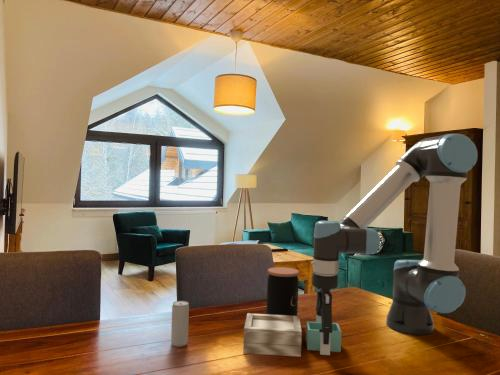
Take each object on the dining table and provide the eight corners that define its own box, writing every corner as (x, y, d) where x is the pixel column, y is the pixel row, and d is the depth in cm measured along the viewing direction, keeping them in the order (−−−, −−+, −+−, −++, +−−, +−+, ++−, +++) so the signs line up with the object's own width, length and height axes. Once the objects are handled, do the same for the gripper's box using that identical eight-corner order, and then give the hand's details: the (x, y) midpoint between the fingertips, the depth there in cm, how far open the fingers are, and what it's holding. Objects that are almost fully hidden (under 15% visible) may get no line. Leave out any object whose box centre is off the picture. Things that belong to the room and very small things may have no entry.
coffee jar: (295, 329, 134) (297, 275, 133) (263, 326, 136) (265, 272, 135) (298, 319, 144) (300, 268, 144) (268, 316, 146) (270, 266, 146)
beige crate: (298, 338, 126) (299, 316, 126) (300, 356, 113) (301, 331, 113) (246, 335, 127) (247, 313, 127) (243, 353, 114) (243, 328, 114)
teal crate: (336, 342, 124) (337, 323, 124) (340, 352, 117) (341, 331, 117) (305, 340, 125) (306, 321, 125) (307, 350, 118) (308, 329, 118)
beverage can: (173, 348, 116) (175, 306, 115) (168, 342, 120) (170, 301, 120) (190, 345, 118) (191, 304, 118) (184, 339, 122) (185, 299, 122)
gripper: (309, 264, 133) (306, 329, 133) (316, 282, 109) (313, 362, 109) (332, 265, 133) (329, 330, 133) (345, 284, 108) (341, 364, 109)
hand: (322, 345), depth 121 cm, fingers open, 12 cm apart
